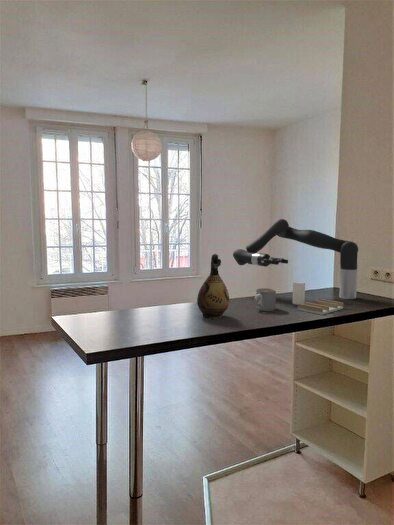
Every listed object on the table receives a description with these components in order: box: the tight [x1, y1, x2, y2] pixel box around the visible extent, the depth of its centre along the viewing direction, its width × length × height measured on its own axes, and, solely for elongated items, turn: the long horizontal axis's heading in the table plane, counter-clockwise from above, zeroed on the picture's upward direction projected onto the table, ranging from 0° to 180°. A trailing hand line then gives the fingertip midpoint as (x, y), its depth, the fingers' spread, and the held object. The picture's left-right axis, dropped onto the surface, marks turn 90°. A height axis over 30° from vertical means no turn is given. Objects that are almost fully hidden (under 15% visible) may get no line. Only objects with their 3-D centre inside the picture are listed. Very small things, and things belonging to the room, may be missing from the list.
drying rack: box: [297, 298, 344, 316], centre depth 208 cm, size 20×14×3 cm
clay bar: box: [292, 281, 306, 306], centre depth 220 cm, size 4×5×12 cm
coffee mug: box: [253, 287, 277, 312], centre depth 208 cm, size 13×10×10 cm
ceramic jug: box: [196, 253, 230, 320], centre depth 192 cm, size 17×15×30 cm
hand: (283, 262), depth 226 cm, fingers open, 8 cm apart
